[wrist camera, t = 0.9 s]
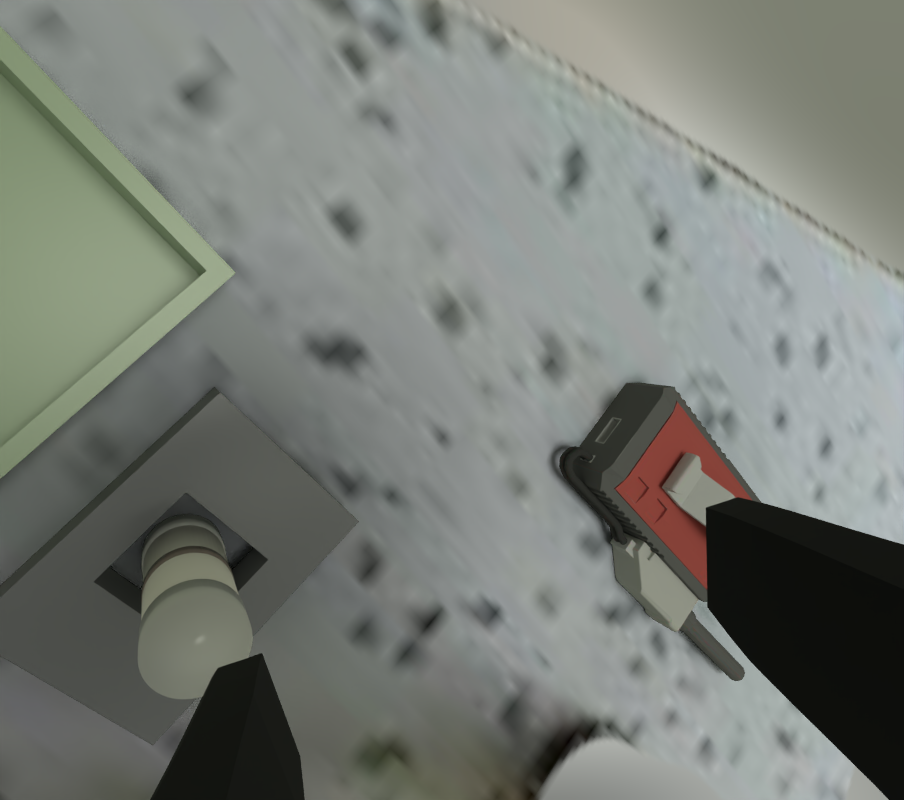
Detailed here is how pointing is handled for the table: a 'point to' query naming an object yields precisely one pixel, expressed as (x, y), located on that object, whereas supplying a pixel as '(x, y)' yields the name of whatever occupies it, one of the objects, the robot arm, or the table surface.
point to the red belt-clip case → (658, 503)
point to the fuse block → (124, 520)
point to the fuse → (188, 608)
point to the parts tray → (78, 259)
